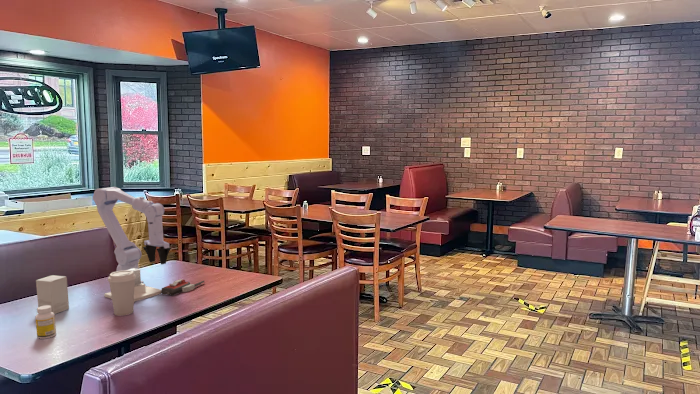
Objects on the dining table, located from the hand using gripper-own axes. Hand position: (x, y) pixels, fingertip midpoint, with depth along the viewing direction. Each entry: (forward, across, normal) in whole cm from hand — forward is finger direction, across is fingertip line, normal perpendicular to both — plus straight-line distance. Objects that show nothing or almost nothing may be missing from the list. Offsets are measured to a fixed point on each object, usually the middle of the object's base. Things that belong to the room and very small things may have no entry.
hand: (157, 262), depth 221 cm
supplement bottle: (+11, +16, -55) cm, 58 cm away
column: (+6, +2, -13) cm, 15 cm away
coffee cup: (+11, +18, -28) cm, 35 cm away
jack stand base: (+10, +2, -13) cm, 17 cm away
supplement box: (+10, -6, -41) cm, 43 cm away
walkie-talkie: (+11, +12, +3) cm, 17 cm away
